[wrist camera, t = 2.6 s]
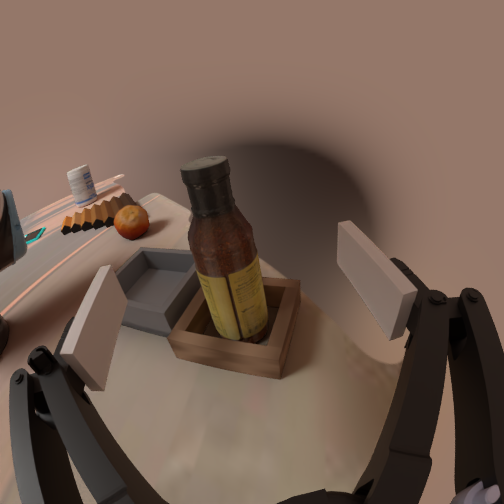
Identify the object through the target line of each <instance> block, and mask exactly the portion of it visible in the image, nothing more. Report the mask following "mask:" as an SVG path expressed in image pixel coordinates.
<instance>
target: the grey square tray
mask: <svg viewBox="0 0 504 504" xmlns="http://www.w3.org/2000/svg"><path fill="white" fill-rule="evenodd" d="M115 275H116V277H117V279H118V281H119V283H120V286H121V288H122V290H123V292H124V294H125V296H126V298H127V300H128V303H127V306H126V309H125V312H124V316H123V319H122V323H121V325H124V326H127V327H131V328H134V329H138V330H141V331H145V332H148V333H152V334H155V335H159V336H163V337H168V336H169V334H170V333H171V331H172V330H173V328H174V327H175V325H176V323H177V322H178V320H179V319H180V317H181V316H182V314H183V313H184V311H185V310H186V308H187V307H188V305H189V304H190V302H191V301H192V299H193V298H194V296H195V295H196V293H197V292H198V290H199V289H200V287H201V283H200V280H199V277H198V274H197V271H196V268H195V262H194V259H193V256H192V253H191V250H176V249H160V248H145V247H141V248H140V249H139V250H138V251H137V252H136V253H135V254H134V255H133V256H132V257H130V258H129V259H128V260H127V261H126V262H125V263H124V264H123V265H122V266H121V267H120V268H119V269H118V270H117V271H116V272H115Z"/></svg>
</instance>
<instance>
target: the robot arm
mask: <svg viewBox="0 0 504 504" xmlns="http://www.w3.org/2000/svg"><path fill="white" fill-rule="evenodd" d="M26 252H27V243H26V240H25V237H24V234H23V231H22V228H21V225H20V221H19V217H18V214H17V210H16V206H15V203H14V199H13V194H12V191H11V190H3V191H2V192H1V190H0V272H1V271H2V270H4V269H6V268H7V267H9V266H10V265H13V264H15V263H16V261H17V260H19V259H20V258H22V257H23V256H24V255H25V254H26ZM337 264H338V265H339V267H340V268H341V269H342V271H343V272H344V274H345V275H346V277H347V278H348V279H349V281H350V282H351V284H352V285H353V287H354V288H355V289H356V291H357V292H358V294H359V295H360V297H361V298H362V300H363V301H364V303H365V304H366V306H367V307H368V309H369V310H370V312H371V313H372V315H373V316H374V318H375V319H376V321H377V322H378V324H379V325H380V327H381V328H382V330H383V332H384V333H385V335H386V336H387V338H388V339H389V341H390V340H393V339H396V338H399V337H401V336H403V334H404V331H405V328H406V327H407V329H408V330H409V331H410V334H409V337H408V340H407V342H406V345H405V347H404V348H406V351H405V356H404V360H403V364H402V368H401V372H400V376H399V380H398V383H397V387H396V391H395V394H394V397H393V401H392V404H391V407H390V410H389V413H388V416H387V419H386V422H385V425H384V427H383V430H382V433H381V435H380V438H379V441H378V443H377V446H376V448H375V451H374V453H373V455H372V458H371V460H370V462H369V464H368V466H367V468H366V470H365V472H364V473H363V475H362V476H361V478H360V480H359V482H358V483H357V485H356V487H355V489H354V491H353V493H352V494H350V493H346V492H337V491H328V492H326V490H325V489H322V490H318V491H314V492H310V493H306V494H302V495H298V496H293V497H291V498H289V499H287V500H284V501H282V502H279V503H277V504H418V503H419V500H420V498H421V496H422V493H423V490H424V488H425V485H426V482H427V479H428V476H429V473H430V470H431V466H432V459H431V457H430V449H431V445H432V441H433V438H434V434H435V430H436V425H437V420H438V415H439V411H440V406H441V400H442V394H443V388H444V381H445V373H446V364H447V355H448V361H449V368H450V375H451V382H452V391H453V401H454V415H455V492H456V496H455V497H454V498H453V500H452V501H451V503H450V504H504V352H503V349H502V346H501V343H500V339H499V336H498V333H497V331H496V328H495V325H494V322H493V320H492V317H491V314H490V312H489V309H488V307H487V304H486V302H485V300H484V297H483V296H482V294H481V293H480V292H479V291H478V290H476V289H473V288H465V289H463V290H462V292H461V294H460V297H453V298H448V297H447V296H446V295H445V294H444V293H442V292H440V291H437V290H429V289H428V288H427V287H426V286H425V284H424V283H423V282H422V281H421V280H420V279H419V278H418V277H417V276H416V275H415V274H414V273H413V272H412V271H411V270H410V269H409V268H408V267H407V266H406V265H405V264H404V263H403V262H402V261H400V260H398V259H396V258H391V259H389V258H388V257H387V256H386V255H385V254H384V253H383V252H382V251H381V250H380V249H379V248H378V247H377V246H376V245H375V244H374V243H373V242H372V241H371V240H370V239H369V238H368V237H367V236H366V235H365V234H364V233H363V232H362V231H361V230H360V229H358V228H357V227H356V226H355V225H354V224H353V223H352V222H351V221H345V222H339V223H338V248H337ZM127 303H128V300H127V298H126V296H125V294H124V292H123V290H122V288H121V286H120V283H119V281H118V279H117V277H116V275H115V272H114V270H113V268H112V265H107V266H102V267H100V268H99V270H98V272H97V274H96V276H95V278H94V280H93V281H92V283H91V285H90V287H89V289H88V291H87V293H86V295H85V297H84V299H83V301H82V303H81V306H80V308H79V310H78V312H77V314H76V316H75V317H72V318H71V320H70V321H69V322H68V323H67V325H66V327H65V329H64V331H63V332H64V333H63V334H62V336H61V339H60V340H59V343H58V345H57V348H56V350H55V352H54V355H52V354H51V352H50V351H49V350H48V348H47V347H46V346H39V347H37V348H35V349H34V350H33V351H32V352H31V353H30V355H29V357H28V365H29V366H30V367H31V368H32V369H33V370H34V371H35V373H33V374H29V373H28V372H27V371H26V370H25V369H23V368H21V369H18V370H17V371H15V372H14V373H13V375H12V377H11V380H10V394H9V416H10V436H11V447H12V456H13V463H14V470H15V476H16V481H17V486H18V491H19V495H20V499H21V503H22V504H83V502H82V499H81V496H80V493H79V491H78V488H77V485H76V482H75V479H74V475H73V472H72V469H71V465H70V461H69V458H68V454H67V451H68V453H69V455H70V457H71V459H72V461H73V463H74V465H75V467H76V469H77V470H78V472H79V474H80V476H81V478H82V479H83V481H84V483H85V484H86V486H87V488H88V489H89V491H90V492H91V494H92V495H93V497H94V499H95V500H96V502H97V504H169V503H168V502H166V501H165V500H164V499H163V498H162V497H161V496H160V495H159V494H158V493H157V492H156V491H155V490H154V489H153V488H152V487H151V485H150V484H149V483H148V482H147V481H146V480H145V478H144V477H143V476H142V475H141V474H140V472H139V471H138V470H137V469H136V467H135V466H134V465H133V464H132V462H131V461H130V460H129V458H128V457H127V456H126V454H125V453H124V452H123V450H122V449H121V447H120V446H119V445H118V443H117V442H116V440H115V439H114V437H113V436H112V434H111V433H110V431H109V430H108V428H107V427H106V425H105V424H104V422H103V420H102V419H101V417H100V416H99V414H98V412H97V411H96V409H95V407H94V405H93V404H92V402H91V400H90V398H89V397H88V395H87V393H86V392H85V391H84V386H85V384H86V386H87V387H88V388H89V389H90V390H91V391H104V390H105V385H106V381H107V376H108V372H109V368H110V364H111V360H112V356H113V352H114V348H115V344H116V340H117V337H118V333H119V329H120V326H121V323H122V319H123V316H124V312H125V309H126V306H127ZM8 335H9V327H8V324H7V323H6V321H5V320H4V318H3V317H2V316H1V315H0V354H1V352H2V350H3V348H4V346H5V344H6V342H7V339H8ZM35 410H36V413H35ZM66 449H67V450H66Z"/></svg>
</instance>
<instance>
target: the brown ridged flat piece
mask: <svg viewBox="0 0 504 504" xmlns="http://www.w3.org/2000/svg"><path fill="white" fill-rule="evenodd" d="M127 205H133V206H137V205H136V204H135V202H134V201H133V199H132V198H131V197H130V195H129V194H126V193H122V195H121V196H120V198H117V197H114V196H113V197H112V199H111V200H110V202H109V201H105V200H103V202H102V203H101V205H96V204H94V205H93V207H92V208H91V209H87V208H84V210H83V212H82V213H77V212H75V214H74V215H73V217H68V216H66V218H65V219H64V221H63V225H62V229H61V232H62V233H63V234H64V235H66V234H68V233H70V232H71V231H72V232H73V233H76V232H78V231H80V230H81V228H82V230H83V231H87V230H89V229H91V228H92V226H93V227H94V229H95V230H96V229H98V228H101V227H103V222H104V224H105V225H106V227H107V228H108V227H110V226H113V225H114V219H115V216H116V214H117V213H118V211H119V210H121V209H122V208H123V207H125V206H127Z"/></svg>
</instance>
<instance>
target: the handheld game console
mask: <svg viewBox="0 0 504 504" xmlns="http://www.w3.org/2000/svg"><path fill="white" fill-rule="evenodd" d="M45 229H46V228H45V227H43V228H41V229H39V230H36V231H34V232H32V233H30V234H27V235H25V236H24V237H25V240H26V243H27V244H29V243H31V242H33V241H36V240H38V239H39V238H40V236H41V235H42V233H43V232H44V230H45Z"/></svg>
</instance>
